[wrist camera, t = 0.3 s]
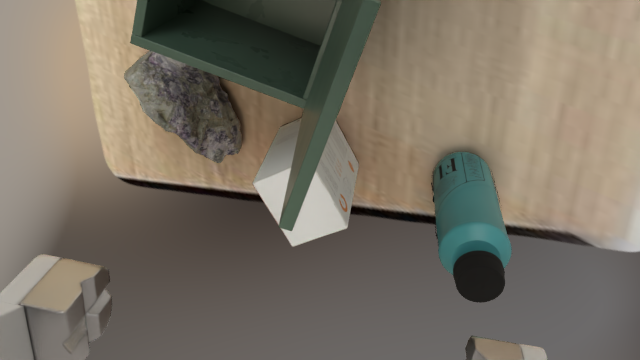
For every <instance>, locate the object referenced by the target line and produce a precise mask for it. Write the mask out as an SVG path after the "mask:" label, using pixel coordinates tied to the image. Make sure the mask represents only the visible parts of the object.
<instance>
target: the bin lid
mask: <svg viewBox="0 0 640 360" xmlns="http://www.w3.org/2000/svg"><path fill="white" fill-rule="evenodd" d="M380 5H381V1H380V0H342V2H341V5H340V8H339V11H338V14H337V16H336V19H335V22H334V25H333V28H332V31H331V33H330V36H329V39H328V42H327V45H326V48H325V50H324V53H323V56H322V59H321V62H320V65H319V67H318V70H317V73H316V76H315V79H314V82H313V84H312V87H311V90H310V93H309V96H308V99H307V101H306V104H305V107H304V110H303V114H302V119H301V123H300V128H299V133H298V137H297V142H296V147H295V152H294V156H293V161H292V166H291V170H290V175H289V180H288V184H287V189H286V194H285V198H284V203H283V208H282V213H281V217H280V222H279V228H282V229H285V230H288V231H292V230H293V228H294V225H295V223H296V220H297V217H298V215H299V212H300V210H301V207H302V205H303V202H304V200H305V197H306V194H307V192H308V189H309V187H310V184H311V182H312V179H313V177H314V174H315V171H316V169H317V166H318V164H319V161H320V159H321V156H322V153H323V151H324V148H325V146H326V143H327V141H328V138H329V136H330V133H331V130H332V128H333V125H334V123H335V120H336V118H337V115H338V113H339V110H340V107H341V105H342V102H343V100H344V97H345V95H346V92H347V89H348V87H349V84H350V82H351V79H352V77H353V74H354V72H355V69H356V66H357V64H358V61H359V59H360V56H361V54H362V51H363V48H364V46H365V43H366V41H367V38H368V36H369V33H370V31H371V28H372V25H373V23H374V20H375V18H376V15H377V13H378V10H379V8H380Z"/></svg>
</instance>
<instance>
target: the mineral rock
mask: <svg viewBox="0 0 640 360" xmlns="http://www.w3.org/2000/svg"><path fill="white" fill-rule="evenodd" d="M124 78H125V80H126V81H127V83H128V84H129V87H130V88H131V89H132V91H133V92H134V94H135V95H136V96H137V98H138V100H139V102H140V105H141V107H142V110H143V112H144V113H145V114H147V115H148V116H149V117H150V118H151V119H152V120H153V121H154V122H155V123H156V124H158V125H159V126H161V127H162V128H163V129H164V130H165V131H168V132H173V133H175V134H177V135H179V137H180V138H181V139H182V140H183V141H184V142H185V143H186V144H187V145H188V146H189V147H190V148H191V149H193V151H194V152H195V153H198V154H200V155H204V156H205V157H206V158H209V159H210V160H212V161H214V162H217V163H221V162H222V161H223V159H224V157H225V155H233V154H235V153H237V154H238V153H239V151H240V148H241V142H242V135H241V131H239V130H240V121H239V120H238V118H237V116H236V115H235V113H234V110H233V109H232V107H231V103H230V102H229V101H228V95H227V93H226V92H224V91H223V90H222V89H221V86H220V85H219V78H218V77H217V76H215V75H213V74H211V73H208V72H205V71H203V70H200V69H198V68H195V67H192V66H190V65H187V64H184V63H182V62H179V61H176V60H174V59H171V58H168V57H166V56H163V55H160V54H158V53H155V52H153V51H149V52H148V53H146V54H145V55H143V56H142V57H141V58H140V59H139V60H138V61H137V62H136V63H134V64H133V65H132V66H131V67H130V68H129V69H128V70H127V71H126V72H125V73H124Z"/></svg>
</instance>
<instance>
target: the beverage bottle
mask: <svg viewBox="0 0 640 360" xmlns="http://www.w3.org/2000/svg"><path fill="white" fill-rule="evenodd" d="M435 167H436V168H435V170H434V172H432V173H433V185H432V190H433V191H434V196H433V202H434V203H433V204H435V211H434V212H435V214H436V222H435V223H436V226H437V235H436V236H437V238H438V243H439V250H438V251H439V258H440V261H441V263H442V265H443V266H444V268H445V269H446V270H447V271H449V273H451V274H452V275H453V276H454V280H455V283H456V287H457V290H458V291H459V293H460V294H461V295H462V296H463V297H464V298H466V299H468V300H470V301H473V302H487V301H490V300H493V299H495V298H496V297H498V296H499V295H500V294H501V293H502V291H503V289H504V286H505V279H504V273H505V272H504V268H505V267H506V265H507V264H508V262H509V260H510V257H511V250H512V249H511V244H510V241H509V238H508V236H507V232H506V229H505V225H504V222H503V218H502V214H501V211H500V207H499V202H498V198H497V195H498V194H496V190H497V189H496V187H494V185H495V184H494V183H493V181H494V180H492V176H491V172H490V169H489V167H488V165H487V164H486V162H485V161H484V160H483V159H481V158H480V157H479V156H477V155H475V154H472V153H469V152H456V153H452V154H449V155H447V156H446V157H444V158H443V159H441V161H439V163H438V164H437V166H435ZM492 175H493V174H492ZM431 177H432V176H431ZM493 179H494V178H493ZM494 182H495V181H494ZM431 184H432V183H431ZM495 186H496V185H495ZM432 193H433V192H432ZM497 193H498V191H497ZM498 197H499V196H498ZM434 217H435V216H434Z"/></svg>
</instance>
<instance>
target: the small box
mask: <svg viewBox="0 0 640 360" xmlns="http://www.w3.org/2000/svg"><path fill="white" fill-rule="evenodd" d="M301 119H302V118H300V119H298V120H296V121H293V122H291V123H289V124H286V125H284V126H282V127H280V128H279V130H278V132H277V134H276V136H275V138H274V140H273V142H272V144H271V146H270V148H269V150H268V152H267V154H266V157H265V158H264V161H263V163H262V165H261V167H260V169H259V171H258V173H257V175H256V177H255V179H254V181H253V183H252V184H253V186H254V188H255V189H256V191H257V192H258V194H259V195H260V197H261V198H262V200H263V202H264V203H265V205H266V206H267V208H268V209H269V211H270V212H271V214H272V216H273V217H274V219H275V220H276V222H277V224H278V225H279V222H280V217H281V213H282V208H283V203H284V198H285V194H286V189H287V184H288V180H289V175H290V170H291V166H292V161H293V156H294V152H295V147H296V142H297V137H298V133H299V128H300V123H301ZM358 167H359V163H358V161H357V159H356V157H355V156H354V154H353V152H352V150H351V148H350V146H349V144H348V142H347V141H346V139H345V137H344V135H343V133H342V131H341V129H340V128H339V126H338V124H337V122H336V120H335V123H334V125H333V128H332V130H331V133H330V136H329V138H328V141H327V143H326V146H325V148H324V151H323V153H322V156H321V159H320V161H319V164H318V166H317V169H316V171H315V174H314V177H313V179H312V182H311V184H310V187H309V189H308V192H307V194H306V197H305V200H304V202H303V205H302V207H301V210H300V212H299V215H298V217H297V220H296V223H295V225H294V228H293V230H292V231H288V230H285V229H282V228H281V230H282V231H283V233H284V234H285V236H286V238H287V239H288V241H289V242H290V244H291V245H292V247H293V246H296V245H299V244H302V243H305V242H308V241H311V240H314V239H316V238H319V237H322V236H325V235H328V234H331V233H334V232H337V231H340V230H343V229H346V228H347V227H348V221H349V216H350V211H351V205H352V200H353V194H354V189H355V183H356V178H357V172H358Z"/></svg>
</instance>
